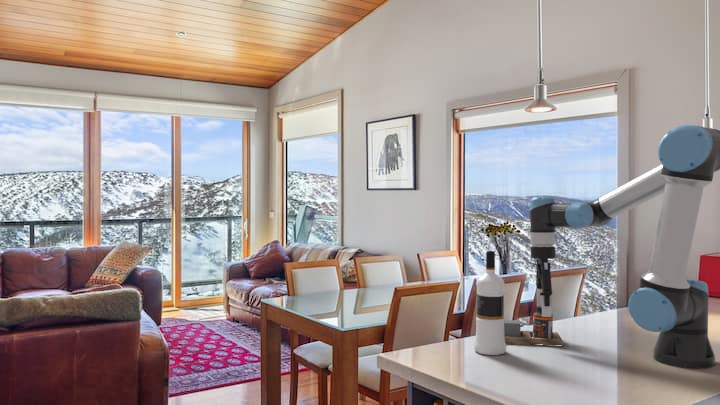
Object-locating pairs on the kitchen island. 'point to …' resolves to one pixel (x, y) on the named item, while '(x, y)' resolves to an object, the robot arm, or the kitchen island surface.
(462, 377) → the kitchen island surface
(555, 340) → the brown wooden frame
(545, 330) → the supplement bottle
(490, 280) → the vodka
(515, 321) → the block
